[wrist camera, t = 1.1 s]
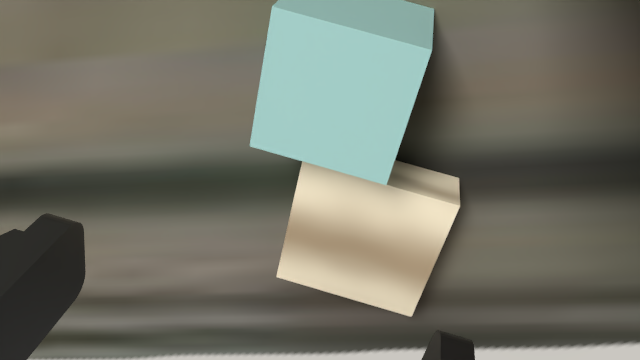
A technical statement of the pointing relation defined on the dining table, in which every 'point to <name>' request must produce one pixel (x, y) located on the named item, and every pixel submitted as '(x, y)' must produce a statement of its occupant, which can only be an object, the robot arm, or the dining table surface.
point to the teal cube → (341, 82)
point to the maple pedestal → (369, 233)
